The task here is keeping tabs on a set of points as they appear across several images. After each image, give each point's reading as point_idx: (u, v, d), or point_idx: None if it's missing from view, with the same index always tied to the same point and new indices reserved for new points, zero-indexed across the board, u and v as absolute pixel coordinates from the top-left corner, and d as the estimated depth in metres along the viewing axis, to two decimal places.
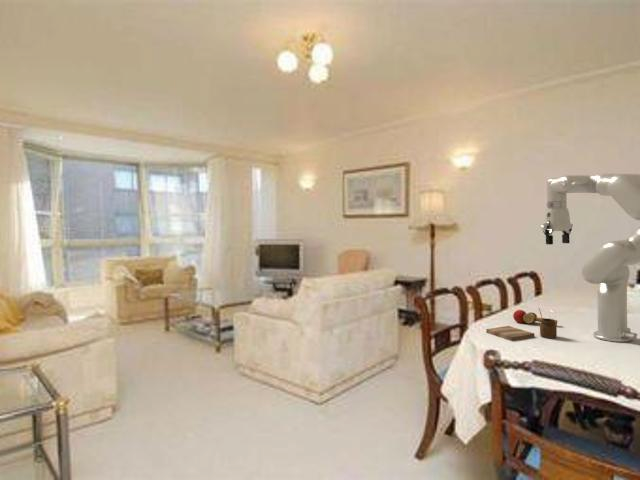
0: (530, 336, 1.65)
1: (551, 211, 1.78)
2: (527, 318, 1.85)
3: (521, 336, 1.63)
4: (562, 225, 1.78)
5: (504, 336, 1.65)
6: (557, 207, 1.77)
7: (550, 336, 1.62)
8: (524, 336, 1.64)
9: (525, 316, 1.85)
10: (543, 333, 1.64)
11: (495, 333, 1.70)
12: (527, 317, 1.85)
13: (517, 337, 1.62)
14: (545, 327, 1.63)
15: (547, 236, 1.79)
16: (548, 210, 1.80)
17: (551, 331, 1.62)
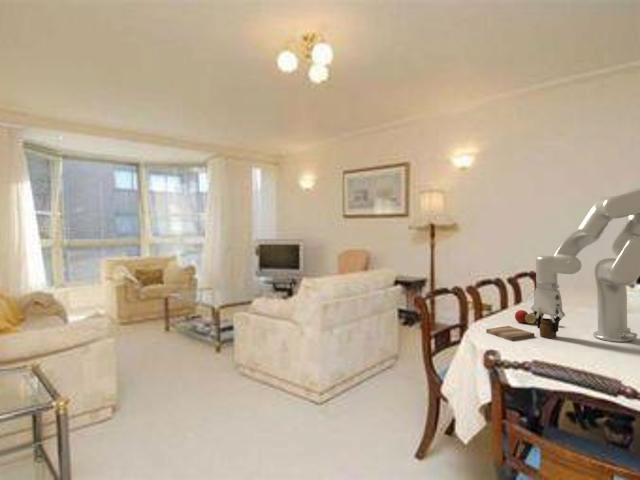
0: (530, 336, 1.65)
1: (559, 293, 1.60)
2: (529, 318, 1.85)
3: (521, 336, 1.63)
4: None
5: (504, 336, 1.65)
6: None
7: (550, 336, 1.62)
8: (524, 336, 1.64)
9: (527, 316, 1.85)
10: (543, 333, 1.64)
11: (495, 333, 1.70)
12: (529, 317, 1.85)
13: (517, 337, 1.62)
14: (545, 327, 1.63)
15: (556, 323, 1.61)
16: (555, 292, 1.60)
17: None
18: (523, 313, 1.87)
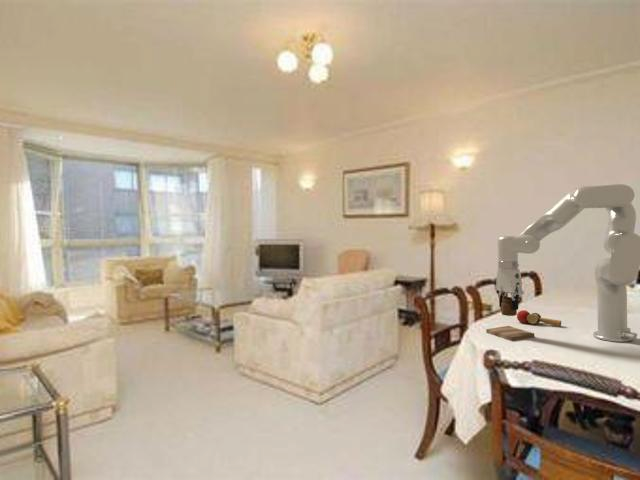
0: (530, 336, 1.65)
1: (519, 272, 1.65)
2: (531, 318, 1.84)
3: (521, 336, 1.63)
4: None
5: (504, 336, 1.65)
6: (517, 267, 1.67)
7: (510, 313, 1.67)
8: (524, 336, 1.64)
9: (529, 316, 1.84)
10: (503, 311, 1.68)
11: (495, 333, 1.70)
12: (531, 317, 1.84)
13: (517, 337, 1.62)
14: (505, 305, 1.68)
15: (516, 301, 1.65)
16: (515, 271, 1.65)
17: None
18: (525, 313, 1.86)
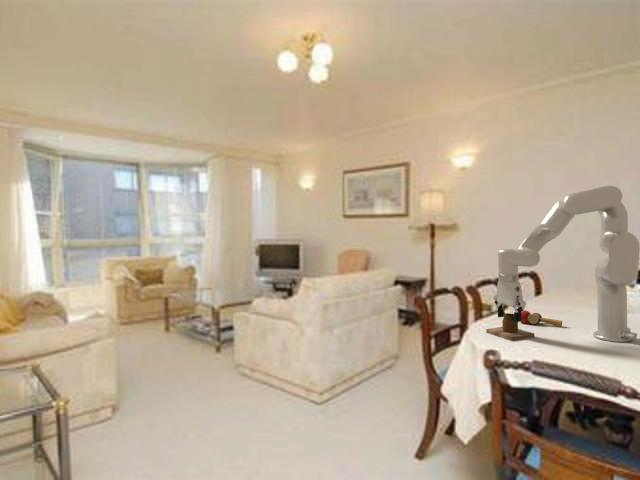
0: (530, 336, 1.65)
1: (519, 285, 1.65)
2: (532, 319, 1.84)
3: (521, 336, 1.63)
4: None
5: (504, 336, 1.65)
6: None
7: (511, 330, 1.67)
8: (524, 336, 1.64)
9: (530, 317, 1.84)
10: (505, 327, 1.69)
11: (495, 333, 1.70)
12: (532, 317, 1.84)
13: (517, 337, 1.62)
14: (507, 322, 1.68)
15: (519, 313, 1.64)
16: (515, 284, 1.65)
17: (512, 325, 1.67)
18: (526, 313, 1.86)
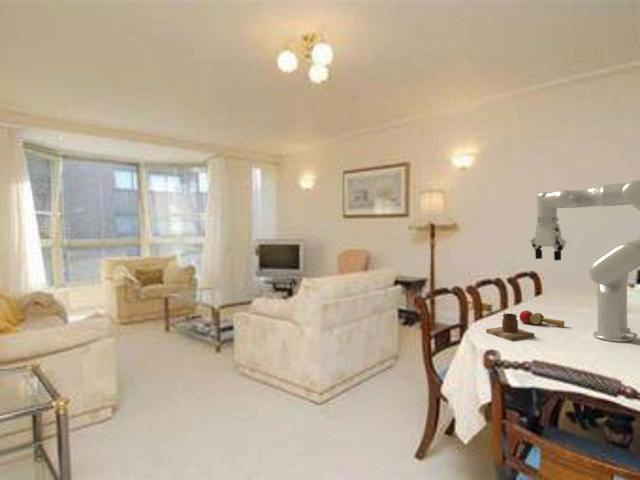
0: (530, 336, 1.65)
1: (558, 226, 1.73)
2: (534, 319, 1.83)
3: (521, 336, 1.63)
4: None
5: (504, 336, 1.65)
6: (556, 222, 1.75)
7: (511, 330, 1.67)
8: (524, 336, 1.64)
9: (532, 317, 1.84)
10: (505, 327, 1.69)
11: (495, 333, 1.70)
12: (534, 317, 1.83)
13: (517, 337, 1.62)
14: (507, 322, 1.68)
15: (559, 252, 1.71)
16: (555, 225, 1.72)
17: (512, 325, 1.67)
18: (528, 313, 1.85)
